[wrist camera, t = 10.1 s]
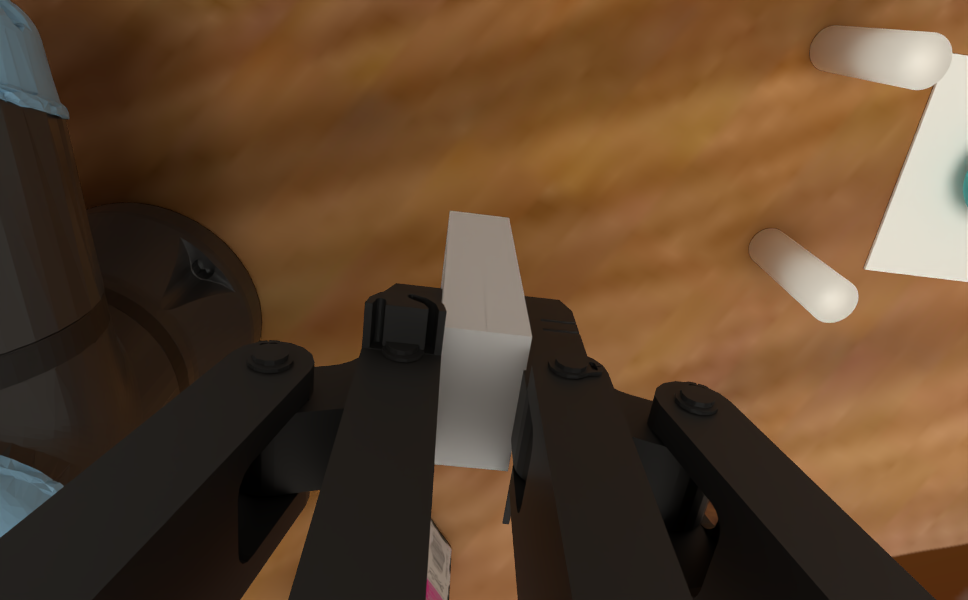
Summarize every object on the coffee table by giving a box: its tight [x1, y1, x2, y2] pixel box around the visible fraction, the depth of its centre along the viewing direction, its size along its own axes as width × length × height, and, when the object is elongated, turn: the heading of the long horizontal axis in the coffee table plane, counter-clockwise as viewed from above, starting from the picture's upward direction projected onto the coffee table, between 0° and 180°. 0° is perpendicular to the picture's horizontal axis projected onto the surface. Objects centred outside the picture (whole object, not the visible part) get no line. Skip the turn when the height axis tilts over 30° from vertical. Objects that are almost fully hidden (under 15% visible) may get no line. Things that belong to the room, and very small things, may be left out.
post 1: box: [749, 228, 858, 323], centre depth 41 cm, size 3×3×9 cm
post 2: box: [810, 25, 952, 90], centre depth 36 cm, size 3×3×9 cm
